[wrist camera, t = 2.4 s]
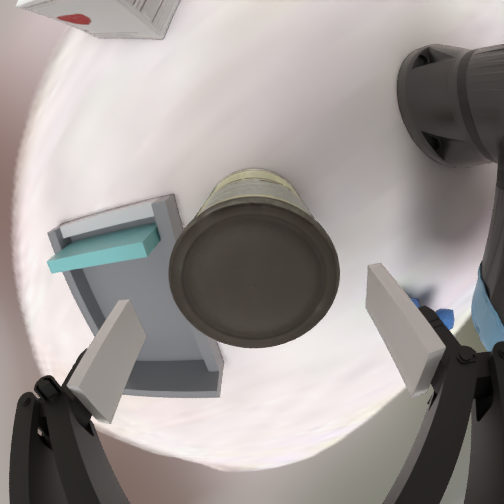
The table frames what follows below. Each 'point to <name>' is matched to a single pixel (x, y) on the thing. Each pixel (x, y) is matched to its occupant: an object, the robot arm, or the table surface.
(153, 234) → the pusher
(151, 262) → the lane
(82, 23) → the supplement box
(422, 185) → the table surface
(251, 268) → the coffee can
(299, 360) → the table surface
